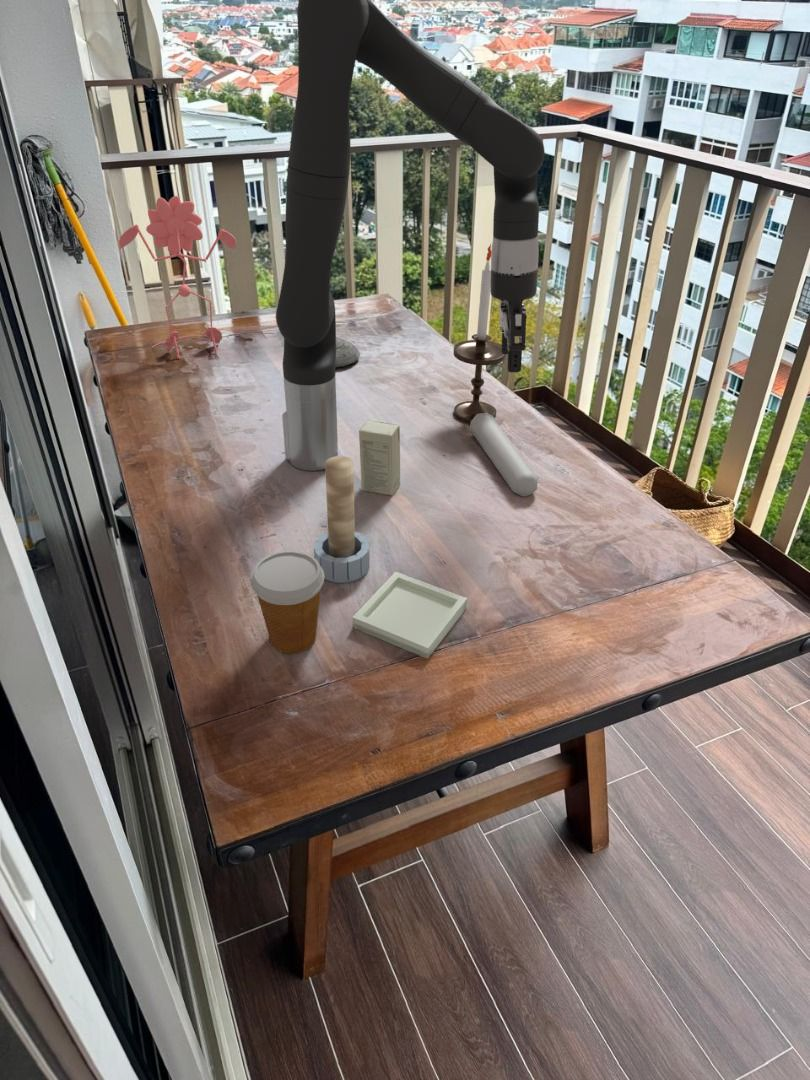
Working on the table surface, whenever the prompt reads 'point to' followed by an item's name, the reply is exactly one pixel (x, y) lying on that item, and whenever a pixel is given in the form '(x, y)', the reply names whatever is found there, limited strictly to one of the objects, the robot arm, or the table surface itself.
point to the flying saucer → (345, 353)
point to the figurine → (178, 248)
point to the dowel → (340, 506)
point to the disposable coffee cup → (289, 598)
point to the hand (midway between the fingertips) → (510, 362)
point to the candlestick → (479, 353)
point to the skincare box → (380, 457)
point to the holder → (343, 560)
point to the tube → (504, 455)
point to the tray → (410, 614)
